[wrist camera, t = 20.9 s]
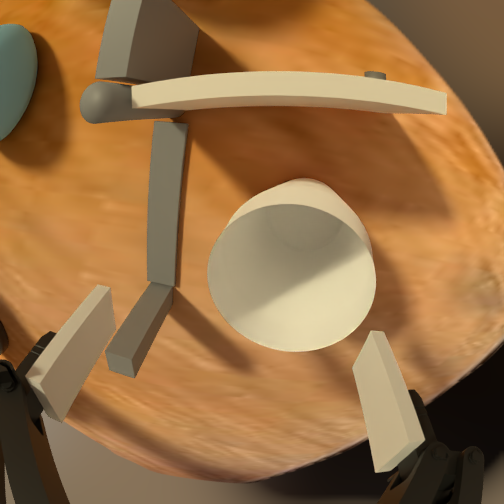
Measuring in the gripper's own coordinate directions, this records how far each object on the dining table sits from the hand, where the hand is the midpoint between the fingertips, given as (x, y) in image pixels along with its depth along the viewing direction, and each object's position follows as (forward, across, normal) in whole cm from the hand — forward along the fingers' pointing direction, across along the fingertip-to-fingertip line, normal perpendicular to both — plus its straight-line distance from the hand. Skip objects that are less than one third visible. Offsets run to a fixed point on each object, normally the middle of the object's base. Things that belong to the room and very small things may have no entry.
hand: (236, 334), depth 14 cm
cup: (+14, +4, +2) cm, 15 cm away
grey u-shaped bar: (+14, -8, +4) cm, 17 cm away
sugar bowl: (+15, -32, +14) cm, 38 cm away
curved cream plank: (+13, +1, +12) cm, 18 cm away
